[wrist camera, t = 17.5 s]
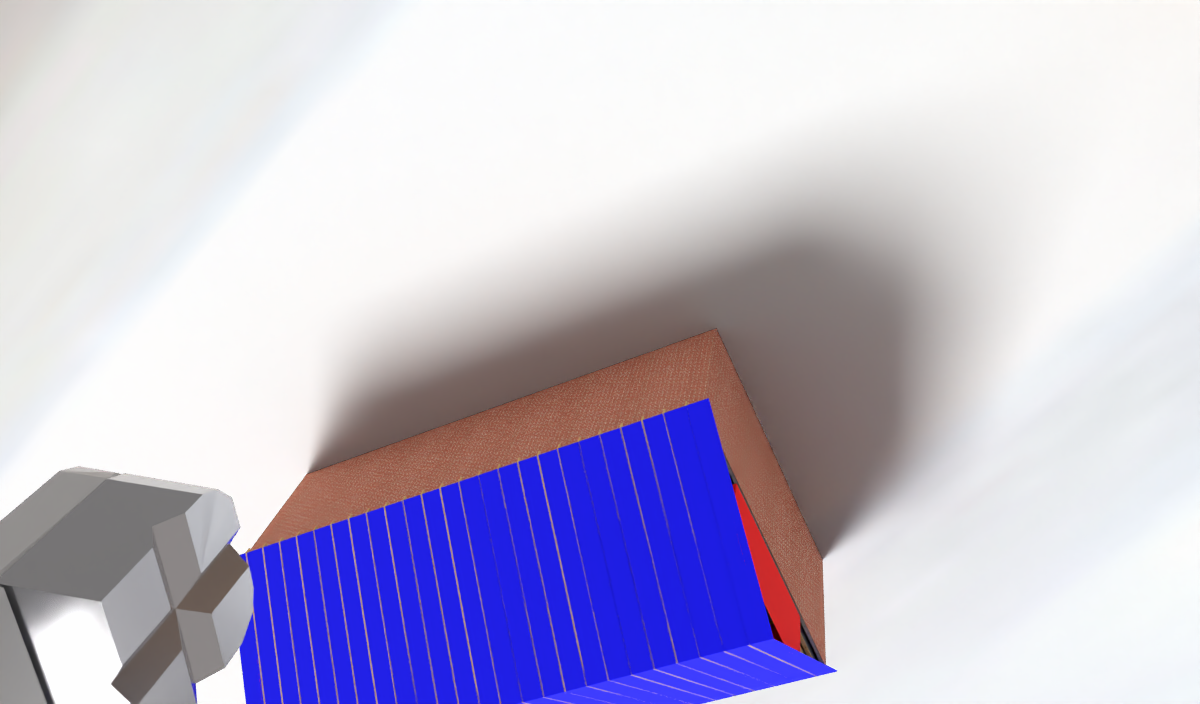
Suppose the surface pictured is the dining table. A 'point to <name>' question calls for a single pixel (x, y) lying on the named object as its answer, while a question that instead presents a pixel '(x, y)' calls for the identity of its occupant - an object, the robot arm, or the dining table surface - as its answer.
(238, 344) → the dining table surface
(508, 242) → the dining table surface
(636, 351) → the dining table surface
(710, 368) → the house
